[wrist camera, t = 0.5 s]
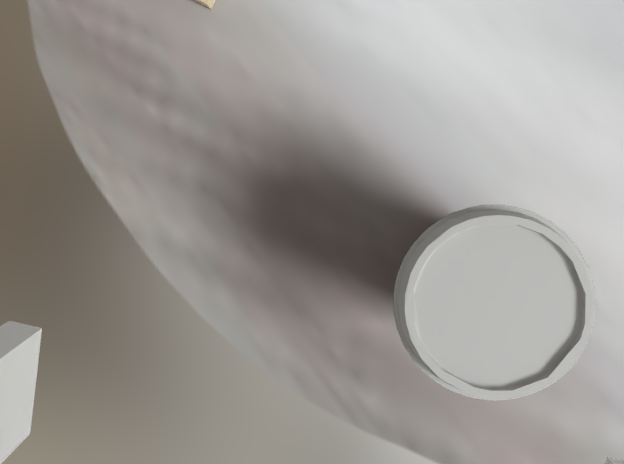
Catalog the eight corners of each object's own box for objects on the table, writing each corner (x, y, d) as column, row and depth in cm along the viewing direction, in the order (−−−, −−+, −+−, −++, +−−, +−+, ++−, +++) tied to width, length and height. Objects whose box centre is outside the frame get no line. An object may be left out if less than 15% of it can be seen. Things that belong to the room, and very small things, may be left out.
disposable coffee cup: (420, 368, 39) (439, 437, 27) (367, 238, 39) (363, 249, 27) (556, 318, 38) (639, 367, 26) (501, 184, 38) (558, 171, 26)
